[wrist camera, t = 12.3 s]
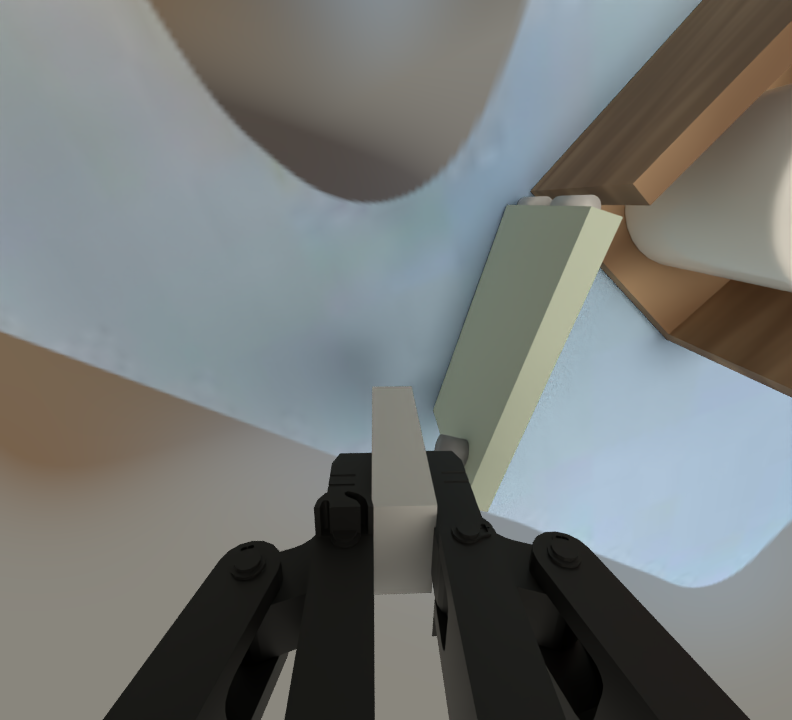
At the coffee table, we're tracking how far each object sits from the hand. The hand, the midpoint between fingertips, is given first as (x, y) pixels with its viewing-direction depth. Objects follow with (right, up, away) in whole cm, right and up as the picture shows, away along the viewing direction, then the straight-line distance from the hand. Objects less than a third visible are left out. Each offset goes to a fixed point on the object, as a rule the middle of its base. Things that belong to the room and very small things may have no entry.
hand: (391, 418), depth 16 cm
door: (+4, +5, +8) cm, 10 cm away
